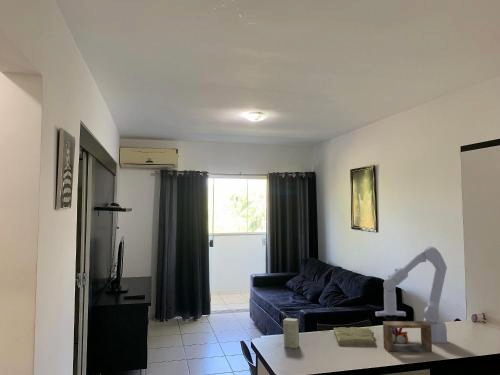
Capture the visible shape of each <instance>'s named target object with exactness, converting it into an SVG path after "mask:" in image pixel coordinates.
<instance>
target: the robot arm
mask: <svg viewBox="0 0 500 375" xmlns="http://www.w3.org/2000/svg"><path fill="white" fill-rule="evenodd" d="M427 261H428V262H430V263H431V264H432V265H433V267H434V274H433V278H432V283H431V289H430V293H429V297H428V300H427V304H426V306H424V308H423V312H424V316H423V317H424V318H423V321H425V322H427V323H428V324H430V325H431V337H432V344H448V343H449V342H448V335H447V334H448V331H447V330H448V329H447V325H446V323H445V322H444V321H443V320H440V315H439V310H440V303H441V302H440V301H441V298H442V297H441V296H442V293H443V292H442V291H443V287H444V284H445V283H444V282H445V277H446V275H447V274H446V273H447V270H448V268H447V264H446V262H445V261H444V258H443V256H442V254H441V252H440V251H439V250H438V249H437V248H436V247H435V246H427V247H426V248H425V249H424V250H421V251H420V252H419V253H418V254H416V255H415V256H414V257H413V258H412V259H411V260H410V261H409V262H407V264H406V265H404V267H398V268H397V267H396V268H395V269H394V271H393V273H392V274H389V275H388V276H387V278H385V279H384V280H383V281H384V282H383V283H382V284H383V308H384V309H383V310H380V311H375V312H374V313H375V316H376V317H384V319H385V321H398V317H406V316H407V312H406V311H403V310H397V293H396V288H397V286H399V285H400V284H401V283H403V282H404V280H406V279H408V277H409V273H410V272H411V271H412V270H413V269H414V268H416V267H417V266H418V265H419V264H420V263H426V262H427ZM392 329H393V330H394V328H392Z"/></svg>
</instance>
